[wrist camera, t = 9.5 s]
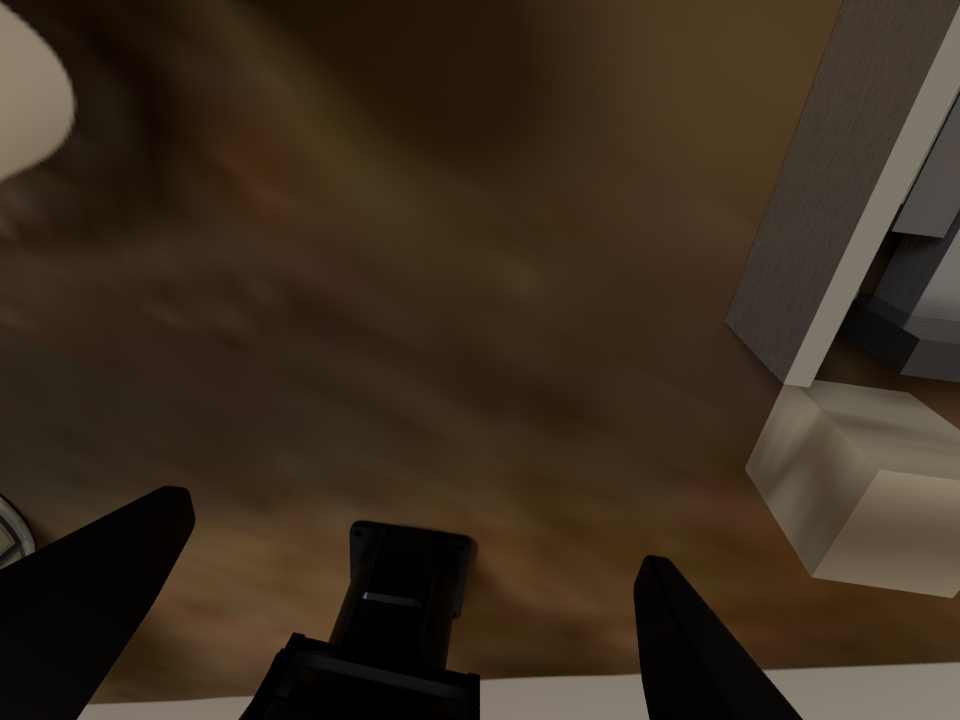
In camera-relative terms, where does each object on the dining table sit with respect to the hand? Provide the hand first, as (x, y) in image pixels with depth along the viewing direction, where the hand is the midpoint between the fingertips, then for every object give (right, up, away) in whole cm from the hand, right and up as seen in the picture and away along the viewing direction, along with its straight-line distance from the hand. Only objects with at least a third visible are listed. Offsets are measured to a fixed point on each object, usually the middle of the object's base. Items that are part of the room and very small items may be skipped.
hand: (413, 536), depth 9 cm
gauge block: (+16, 0, +12) cm, 20 cm away
